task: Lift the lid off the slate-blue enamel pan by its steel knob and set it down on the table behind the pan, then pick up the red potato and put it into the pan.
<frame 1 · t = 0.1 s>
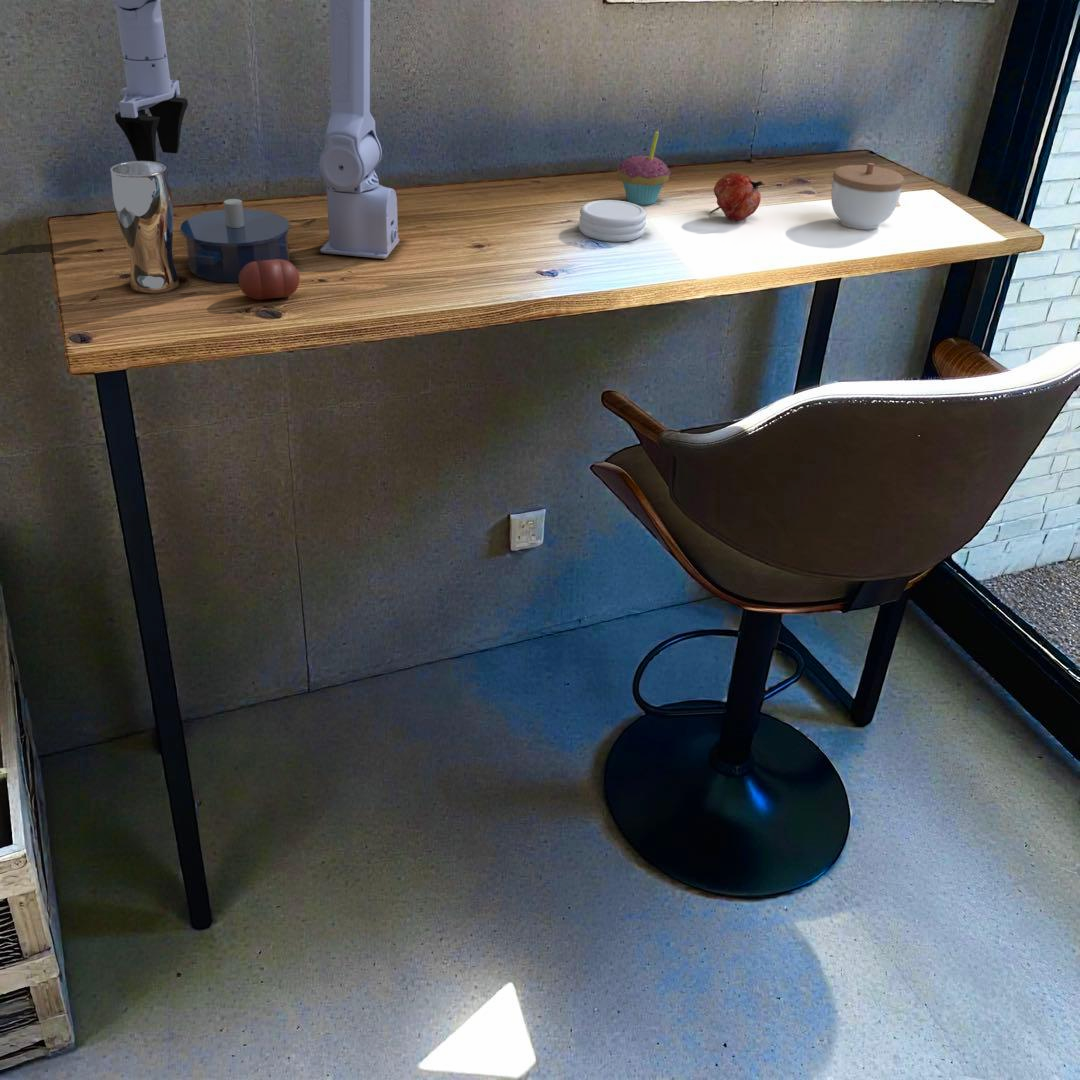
hand: (159, 159, 163), 10 cm above the table, tool pointing down, fingers open, 7 cm apart
potato: (270, 297, 149), on the table
cupcake: (640, 201, 190), on the table
pomegranate: (732, 219, 185), on the table
coaster: (611, 233, 177), on the table
trinket box: (859, 224, 185), on the table
beer glass: (155, 286, 151), on the table
pan lid: (235, 229, 156), point 5 cm above the table, touching pan
pan: (239, 265, 158), on the table
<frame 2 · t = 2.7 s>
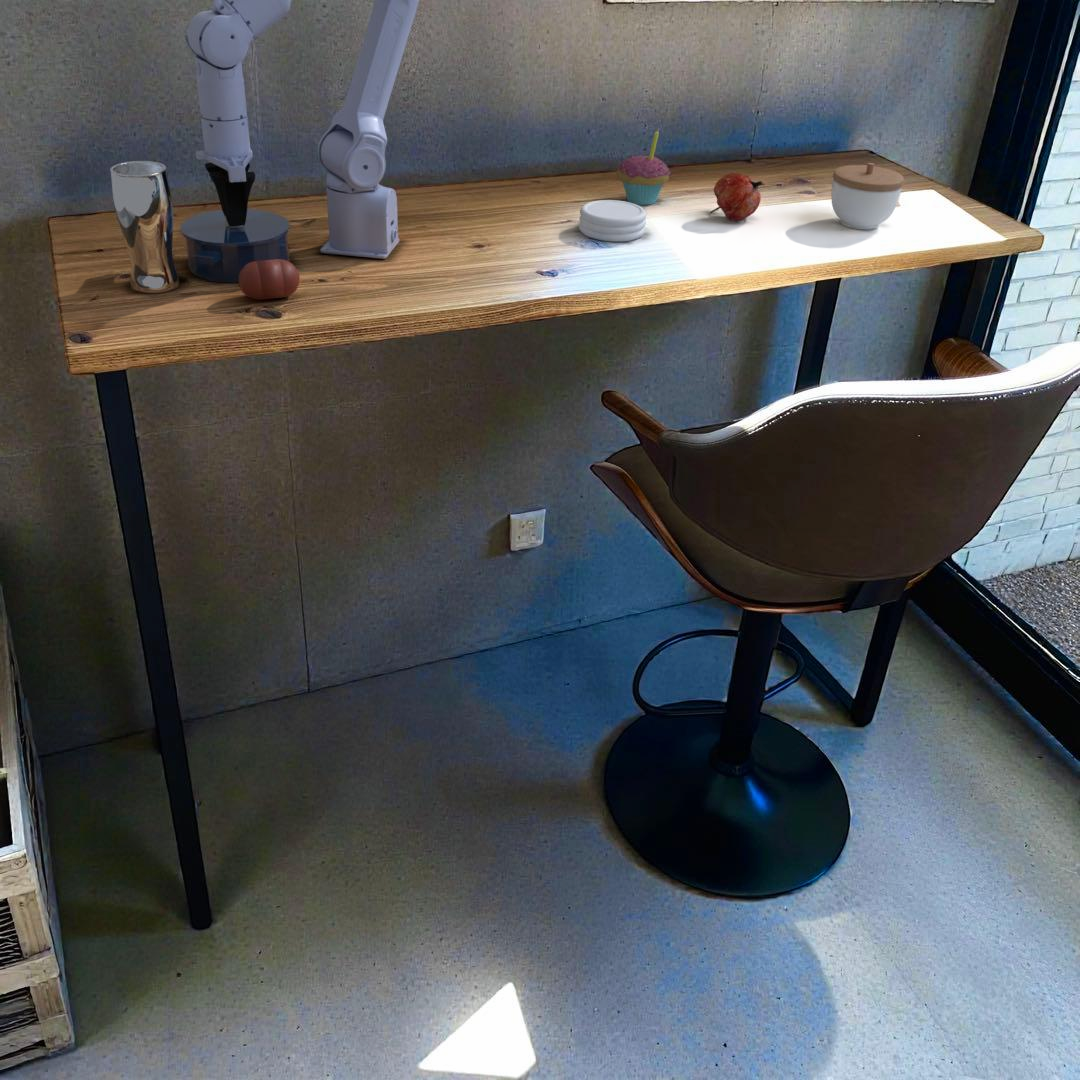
hand: (235, 221, 155), 6 cm above the table, tool pointing down, fingers closed on pan lid, 2 cm apart
pan lid: (235, 229, 156), point 5 cm above the table, touching gripper, pan
everything else where it was.
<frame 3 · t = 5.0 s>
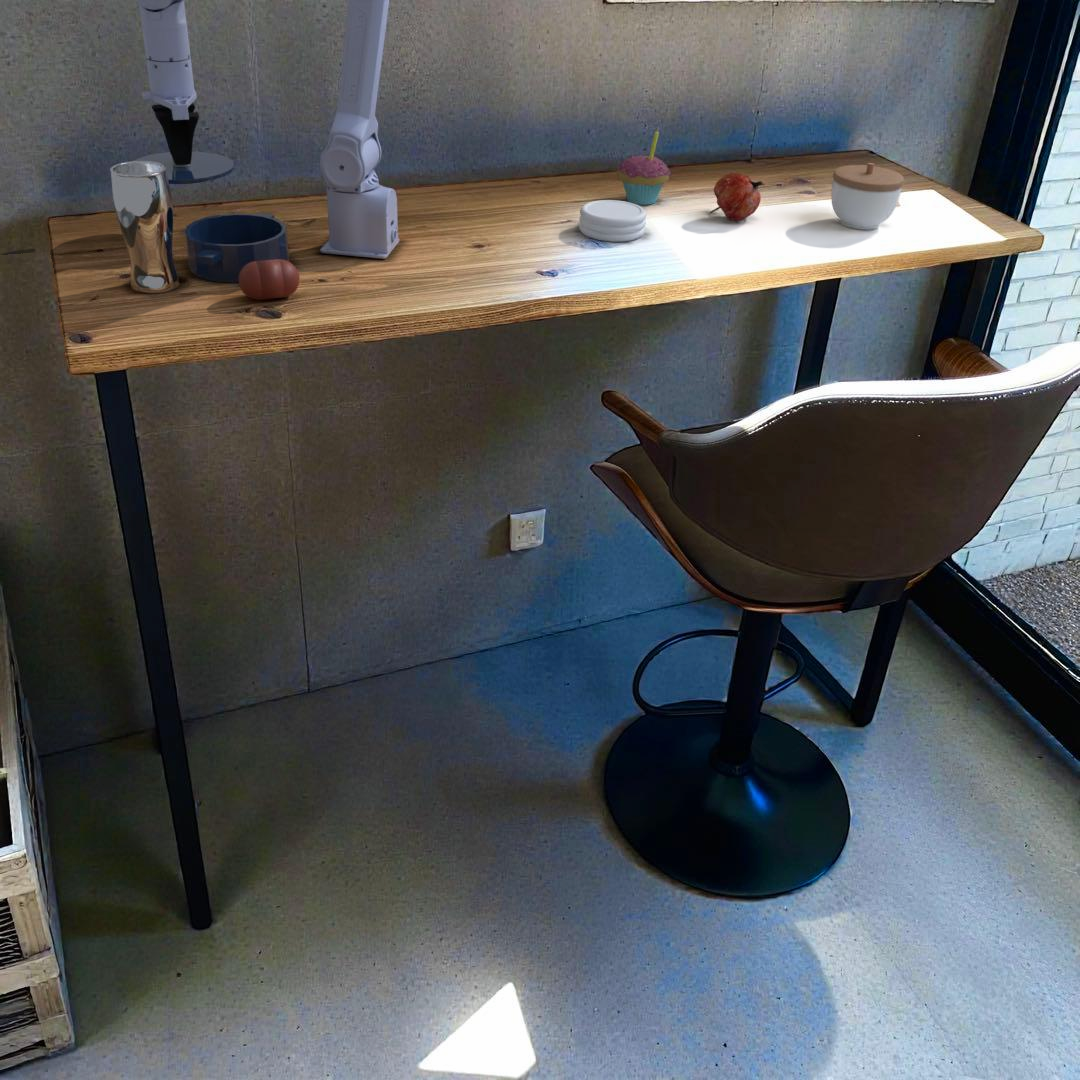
hand: (181, 161, 163), 10 cm above the table, tool pointing down, fingers closed on pan lid, 2 cm apart
pan lid: (182, 168, 163), point 9 cm above the table, touching gripper
everything else where it was.
when the fingers open (2 cm above the table, at t = 7.4 s): pan lid stays where it is, point 1 cm above the table.
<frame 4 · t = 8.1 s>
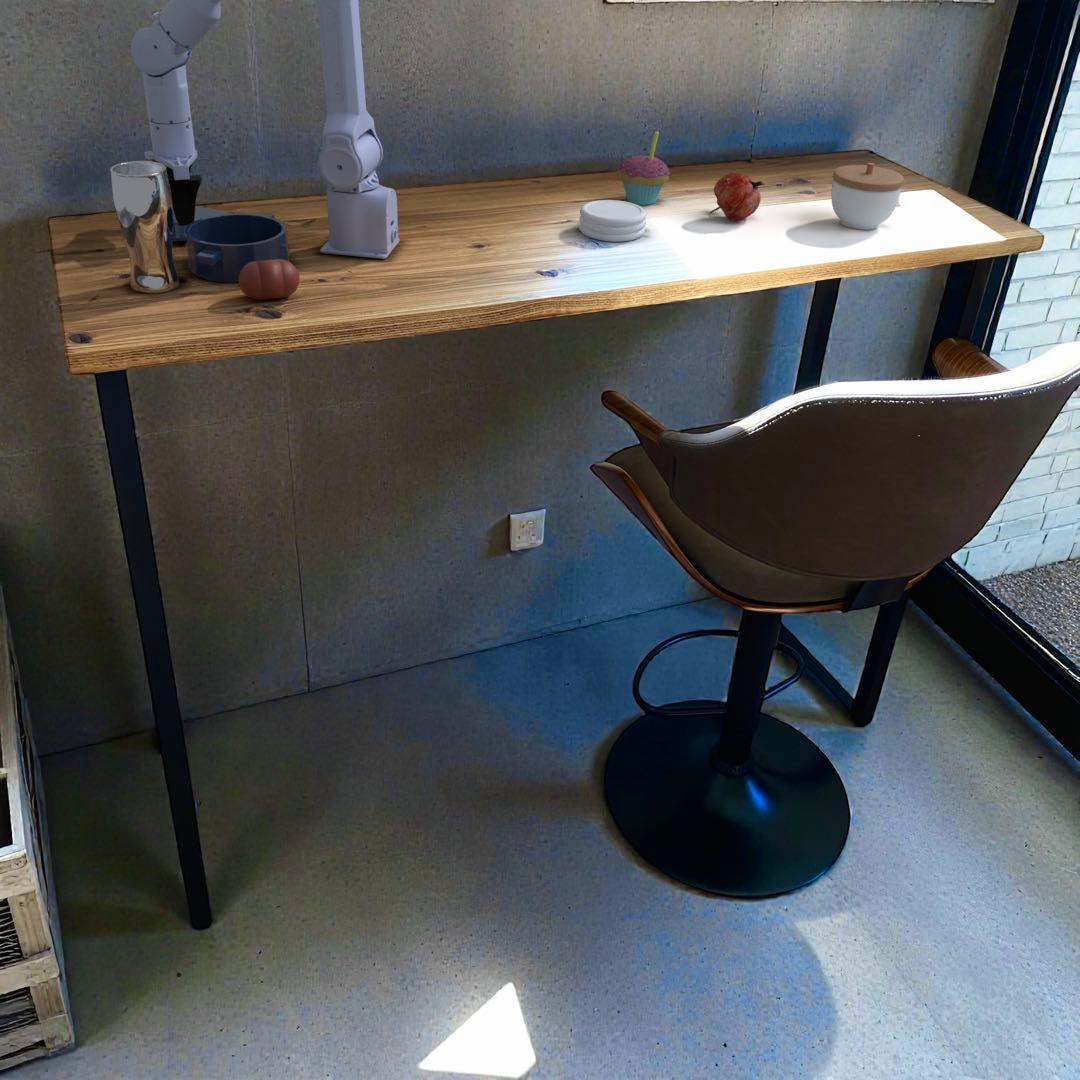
hand: (182, 216, 169), 2 cm above the table, tool pointing down, fingers open, 7 cm apart
pan lid: (183, 225, 169), point 1 cm above the table
everything else where it was.
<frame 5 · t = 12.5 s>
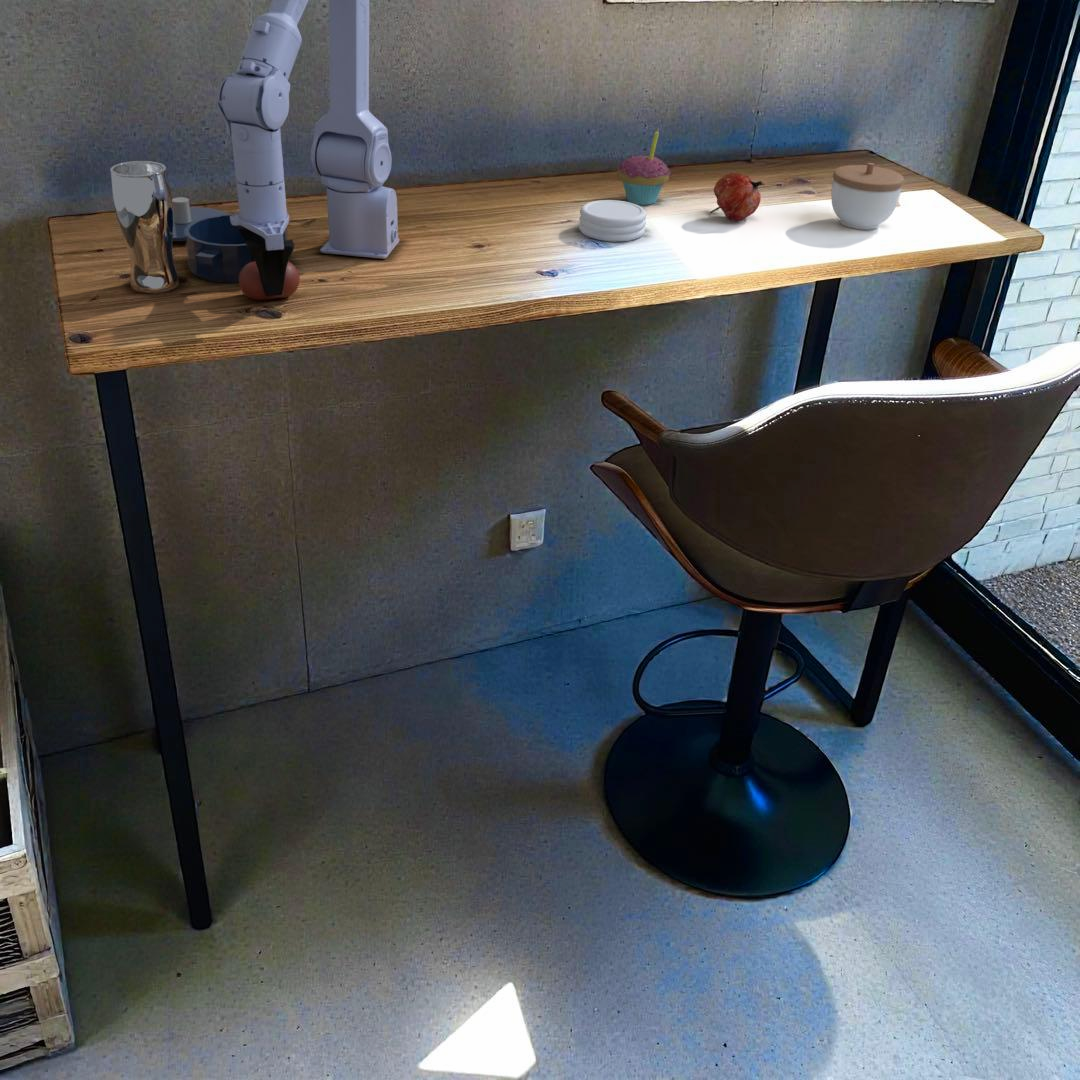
hand: (269, 286, 148), 1 cm above the table, tool pointing down, fingers closed on potato, 5 cm apart
potato: (270, 297, 149), on the table, touching gripper
everything else where it was.
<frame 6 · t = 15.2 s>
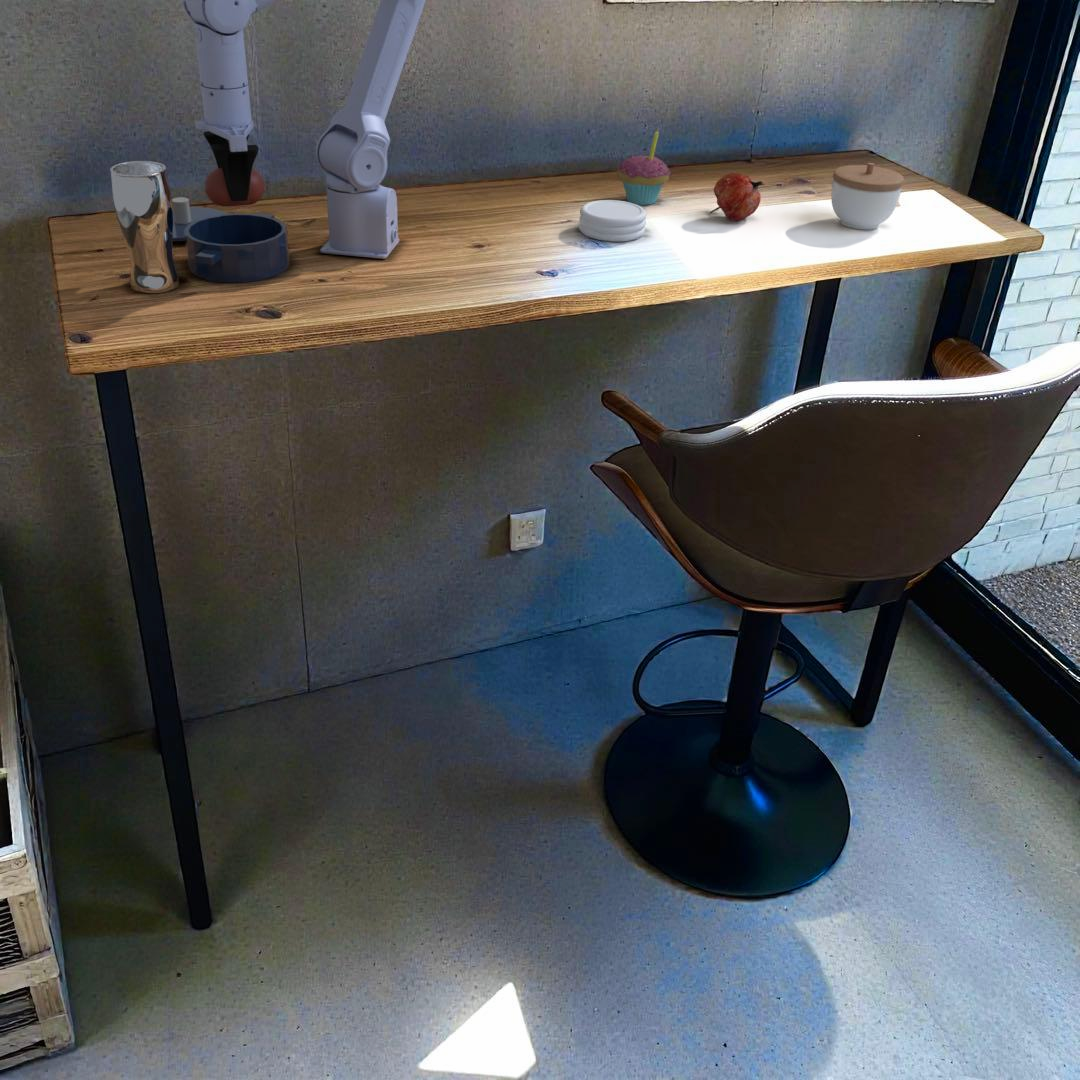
hand: (235, 194, 152), 10 cm above the table, tool pointing down, fingers closed on potato, 5 cm apart
potato: (236, 205, 152), point 9 cm above the table, touching gripper
everything else where it was.
when the fingers open (2 cm above the table, at t = 18.2 s): potato stays where it is, resting on pan.
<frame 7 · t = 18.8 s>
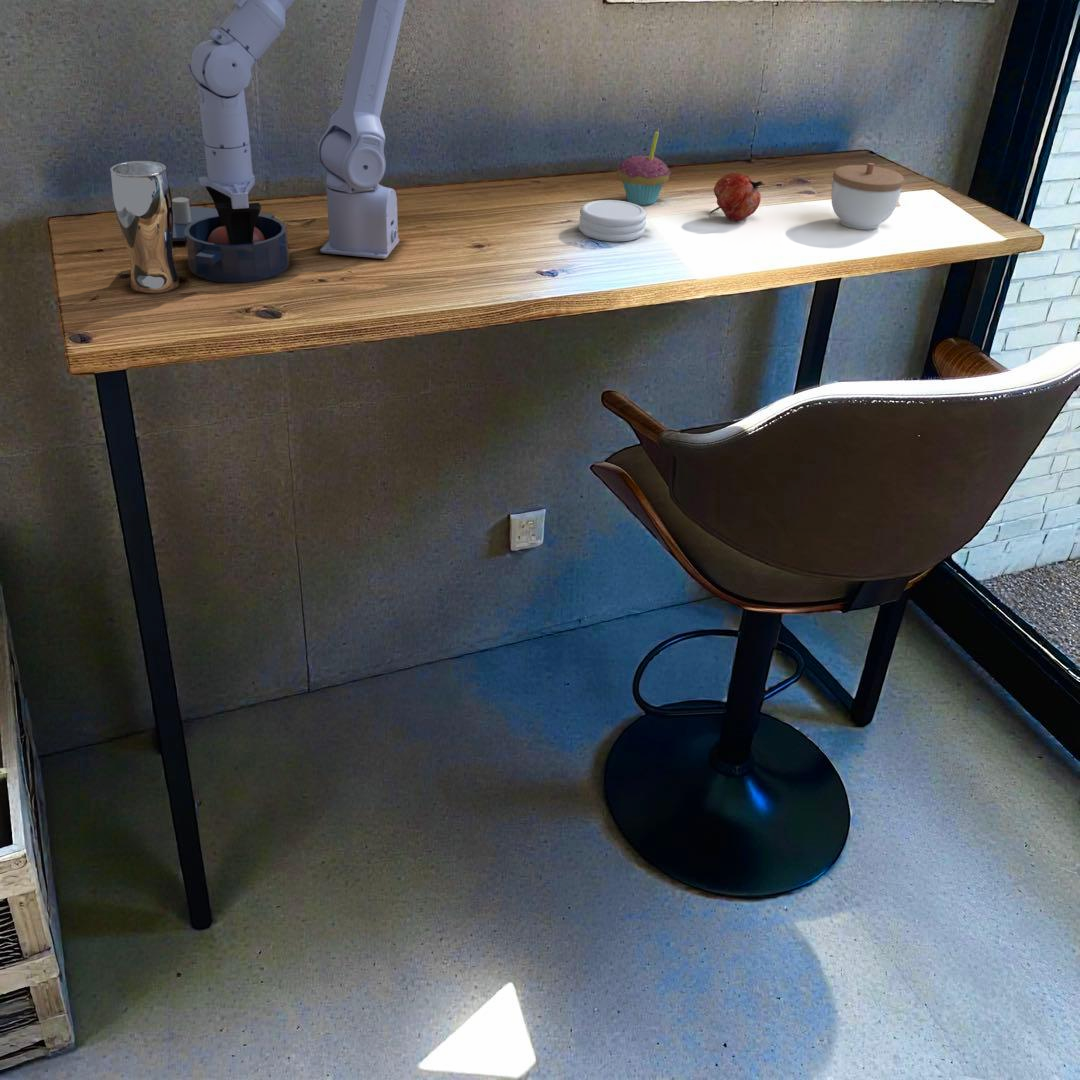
hand: (237, 246, 157), 3 cm above the table, tool pointing down, fingers open, 7 cm apart
potato: (238, 261, 158), point 1 cm above the table, tilted 7°, touching pan
everything else where it was.
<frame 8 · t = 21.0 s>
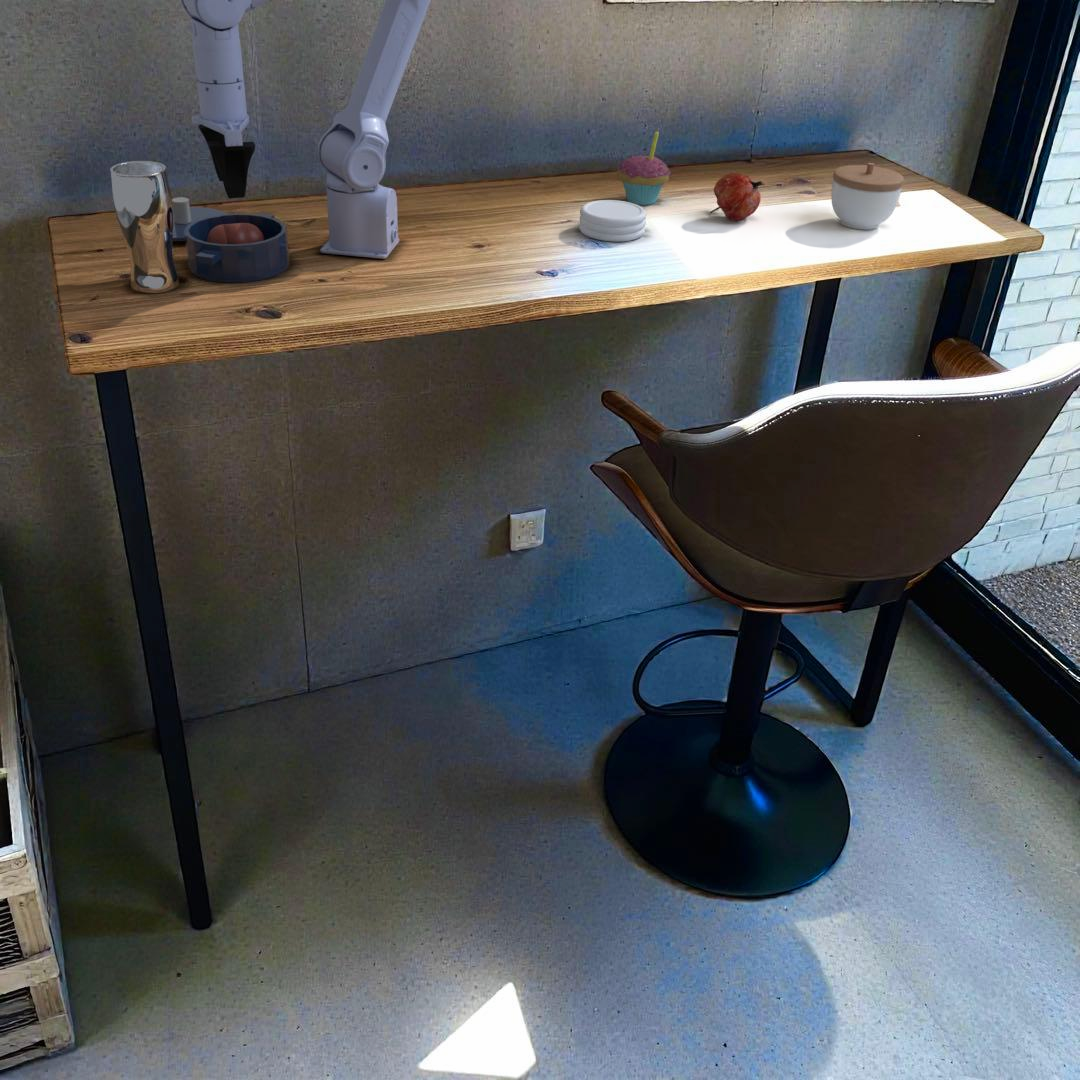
hand: (231, 188, 153), 10 cm above the table, tool pointing down, fingers open, 7 cm apart
potato: (238, 260, 158), point 1 cm above the table, tilted 26°, touching pan
everything else where it was.
at the end: pan lid inside the target area (0.1 cm from its centre), point 0.6 cm above the table; potato inside the target area in the pan (0.1 cm from its centre), point 0.8 cm above the pan's base; the gripper is holding nothing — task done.
